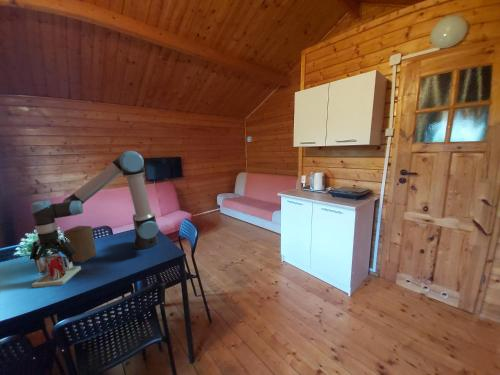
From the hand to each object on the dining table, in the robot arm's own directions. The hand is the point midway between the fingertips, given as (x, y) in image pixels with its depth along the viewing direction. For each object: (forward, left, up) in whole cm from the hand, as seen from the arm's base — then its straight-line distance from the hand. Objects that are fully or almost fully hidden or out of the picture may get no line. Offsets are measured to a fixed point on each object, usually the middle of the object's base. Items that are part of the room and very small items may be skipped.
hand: (56, 269), depth 113 cm
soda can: (0, 0, -5) cm, 5 cm away
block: (-1, -20, -5) cm, 21 cm away
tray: (0, 0, -5) cm, 5 cm away
